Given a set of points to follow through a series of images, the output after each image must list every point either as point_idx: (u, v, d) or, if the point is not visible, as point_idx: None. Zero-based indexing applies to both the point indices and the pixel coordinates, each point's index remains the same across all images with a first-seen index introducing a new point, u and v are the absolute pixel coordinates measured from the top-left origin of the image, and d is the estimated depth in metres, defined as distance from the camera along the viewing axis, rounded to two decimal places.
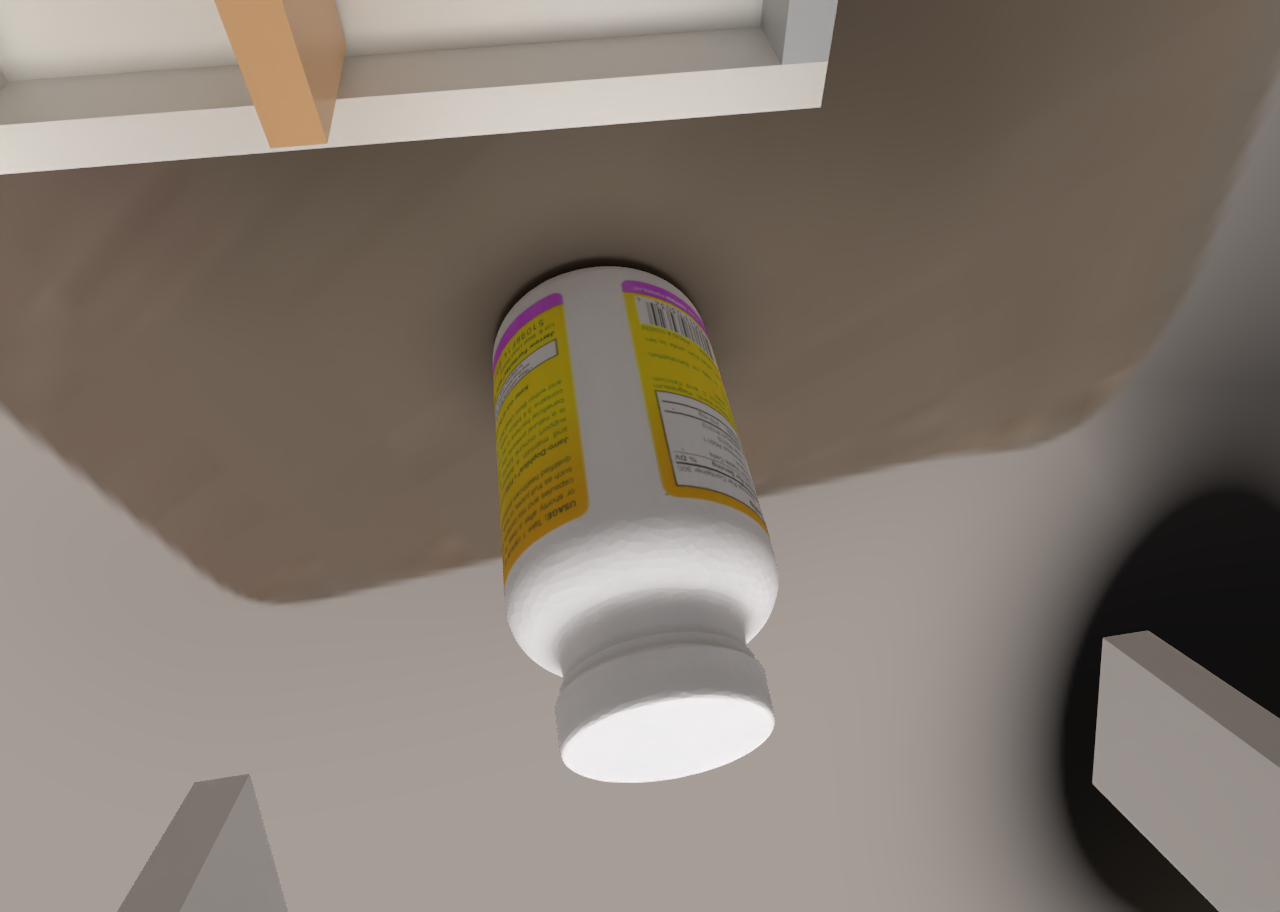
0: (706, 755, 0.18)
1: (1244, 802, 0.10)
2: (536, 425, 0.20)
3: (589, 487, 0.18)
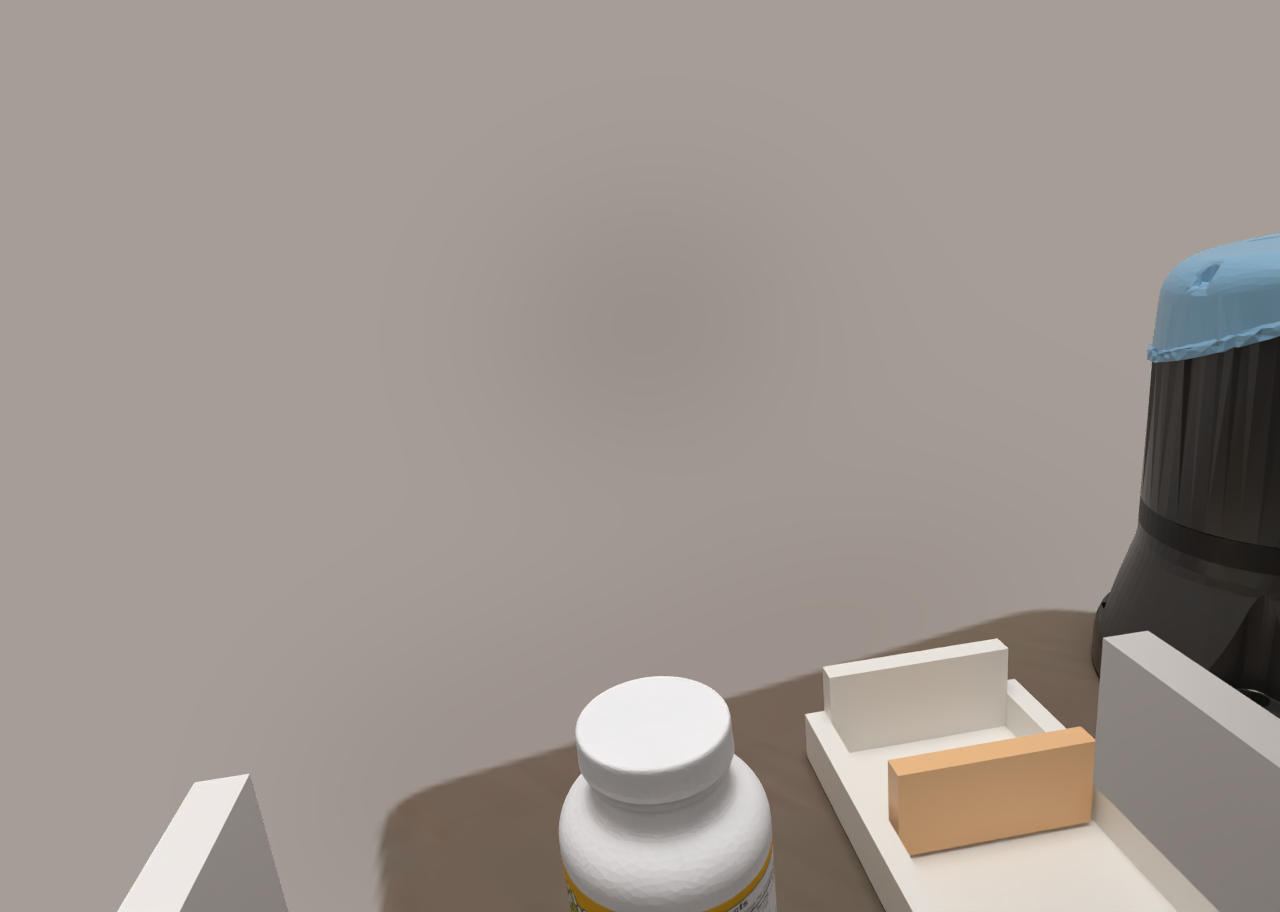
0: (621, 742, 0.24)
1: (1245, 802, 0.10)
2: None
3: None
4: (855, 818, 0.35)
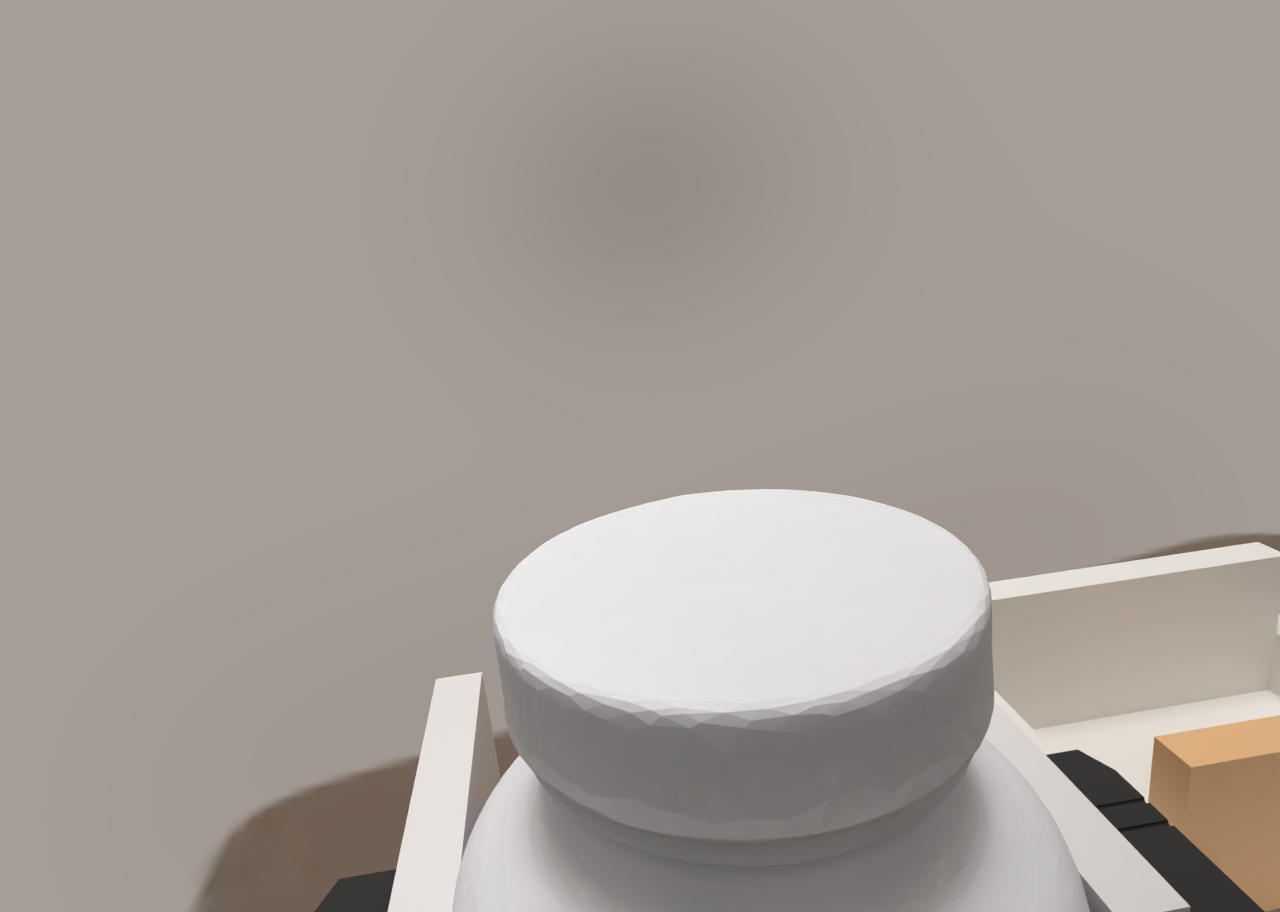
0: (637, 628, 0.07)
1: None
2: None
3: None
4: None
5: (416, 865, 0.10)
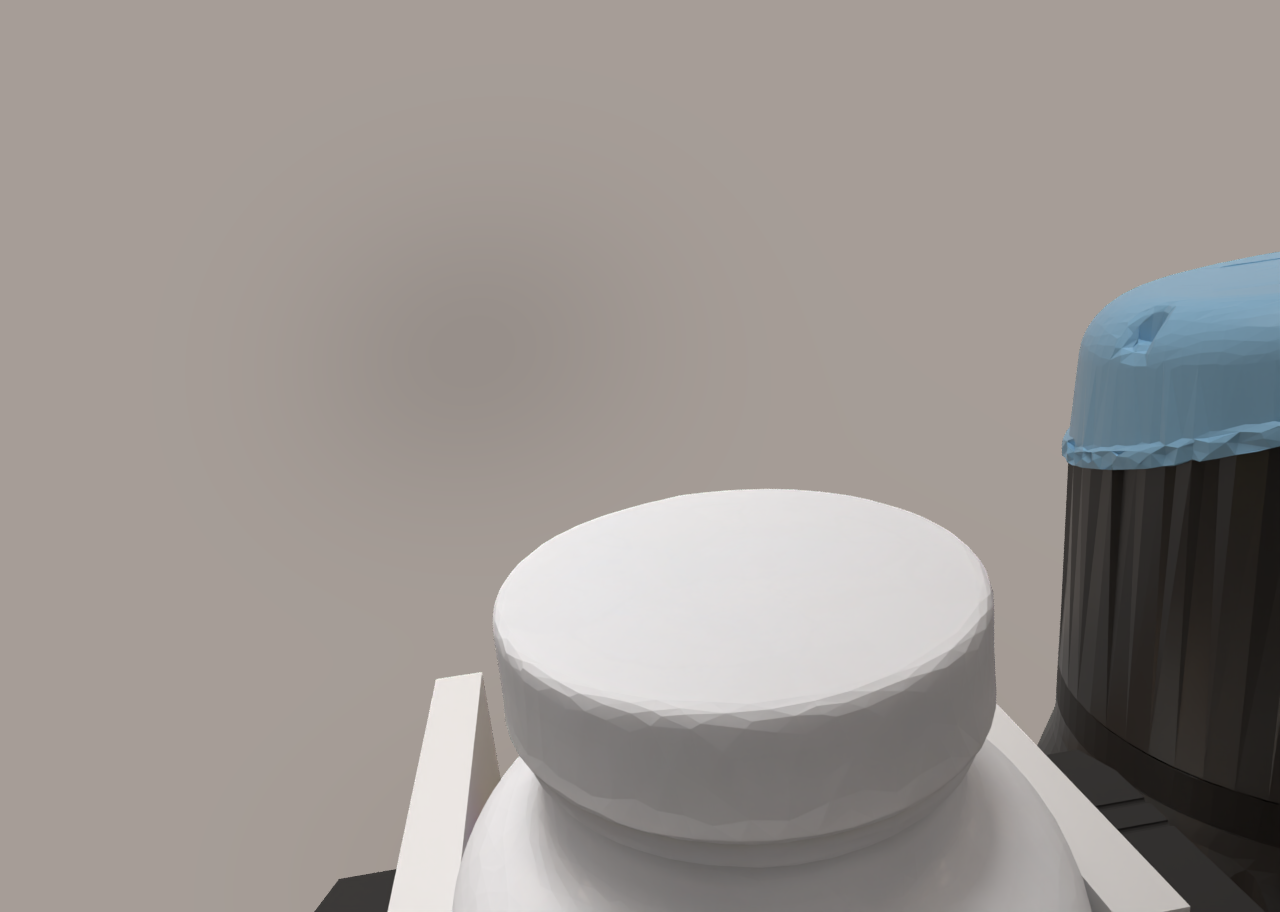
0: (638, 628, 0.07)
1: None
2: None
3: None
4: None
5: (416, 865, 0.10)
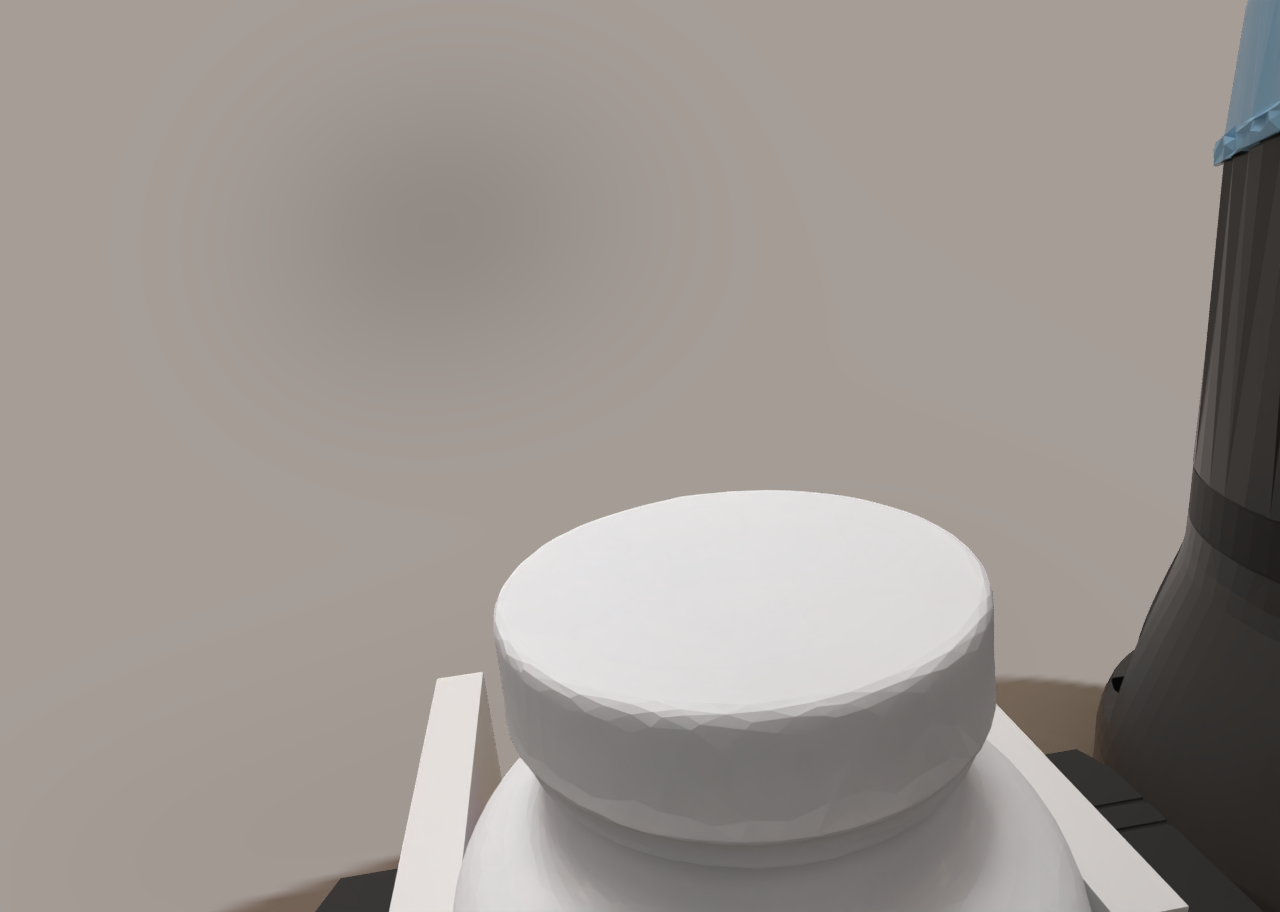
0: (638, 630, 0.07)
1: None
2: None
3: None
4: None
5: (418, 864, 0.10)
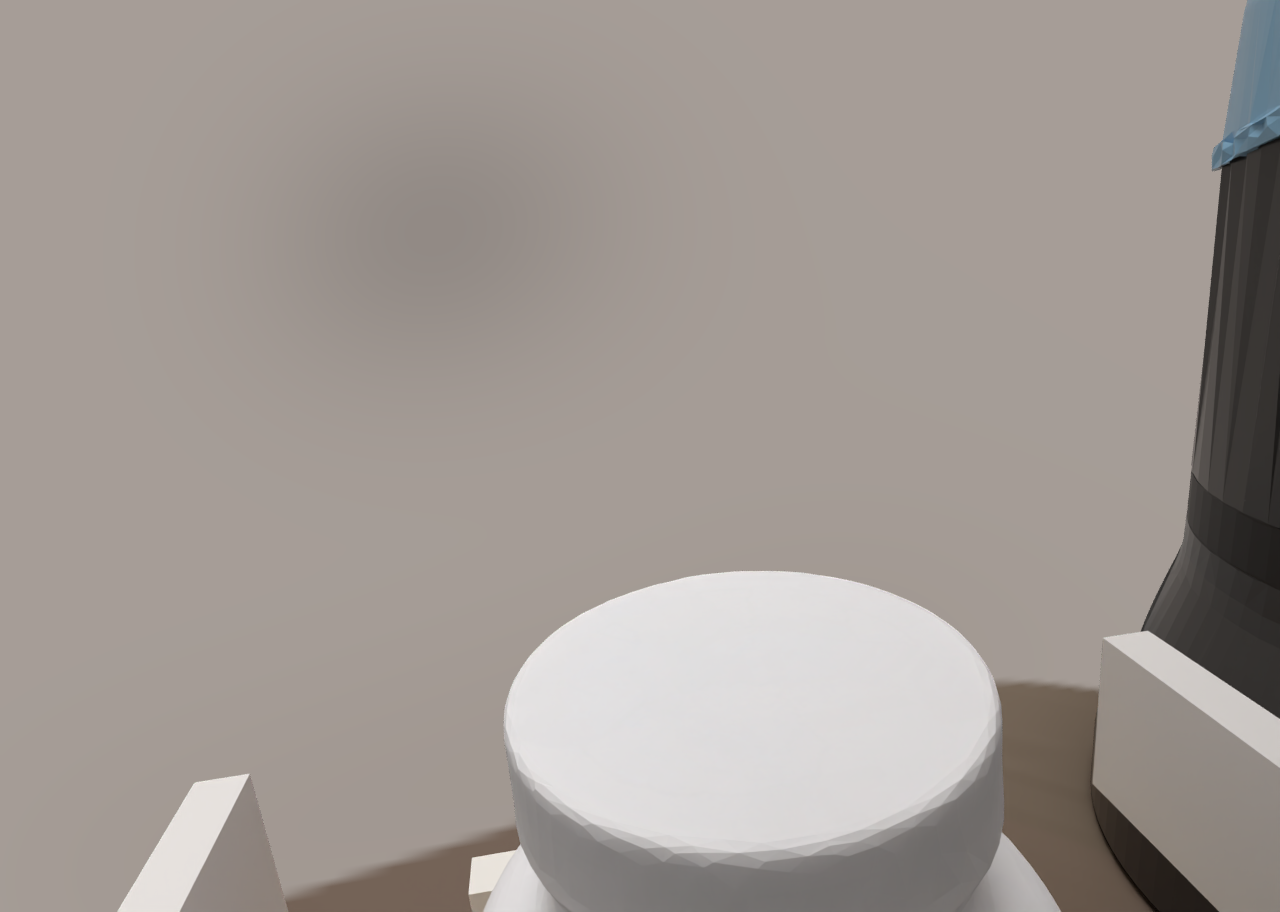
0: (649, 744, 0.07)
1: (1244, 802, 0.10)
2: None
3: None
4: None
5: None
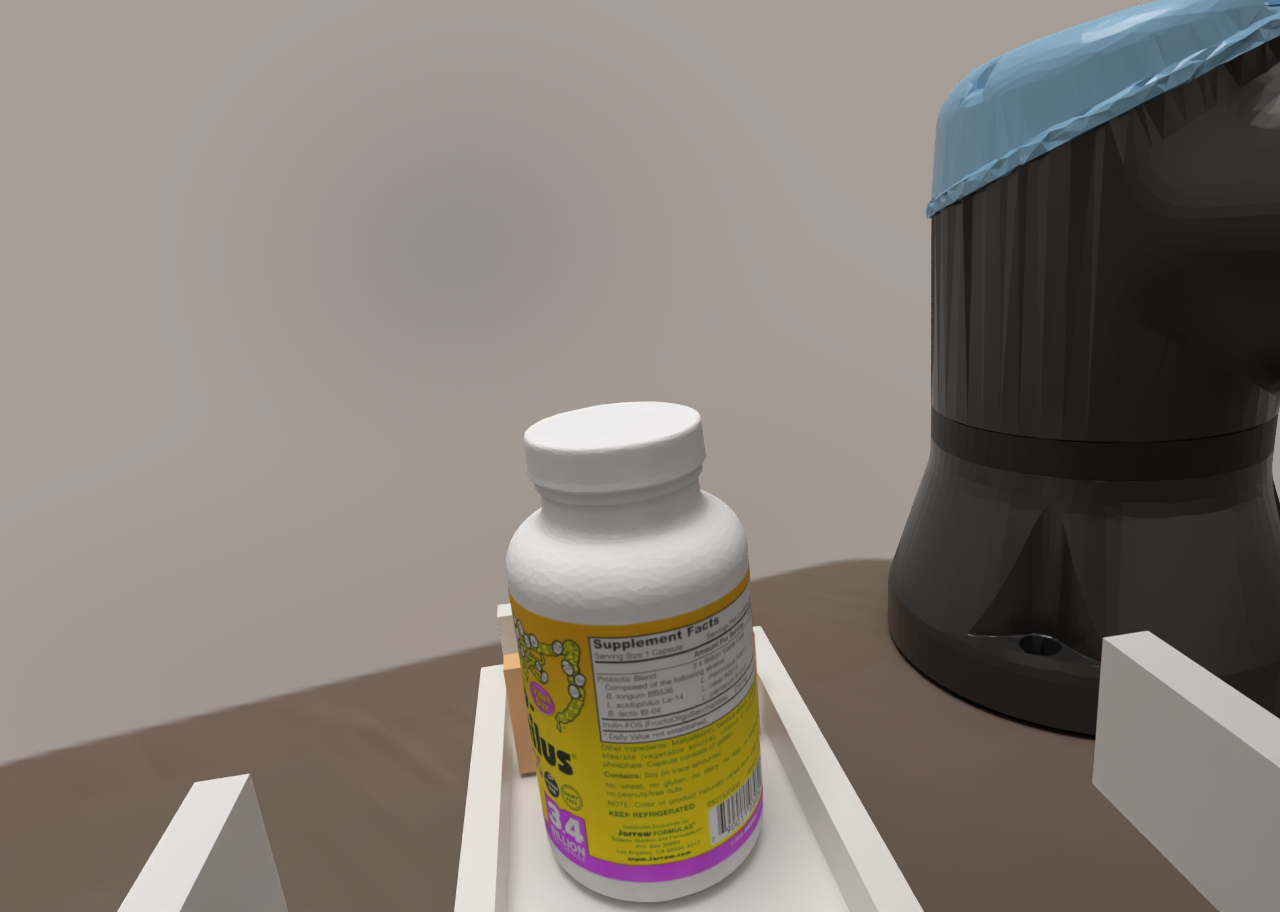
0: (574, 436, 0.21)
1: (1245, 802, 0.10)
2: None
3: None
4: None
5: None
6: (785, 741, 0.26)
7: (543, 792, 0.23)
